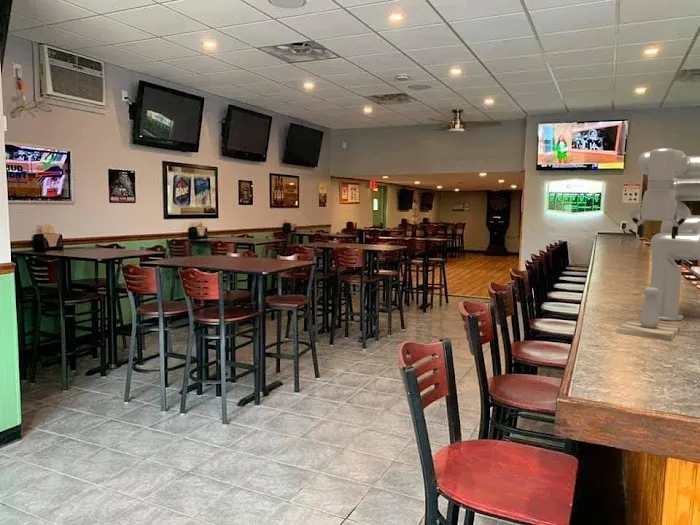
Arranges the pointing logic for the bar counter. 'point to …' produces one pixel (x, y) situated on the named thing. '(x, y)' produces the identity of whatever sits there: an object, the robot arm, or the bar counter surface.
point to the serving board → (648, 330)
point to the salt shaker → (650, 309)
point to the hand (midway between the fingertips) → (656, 238)
